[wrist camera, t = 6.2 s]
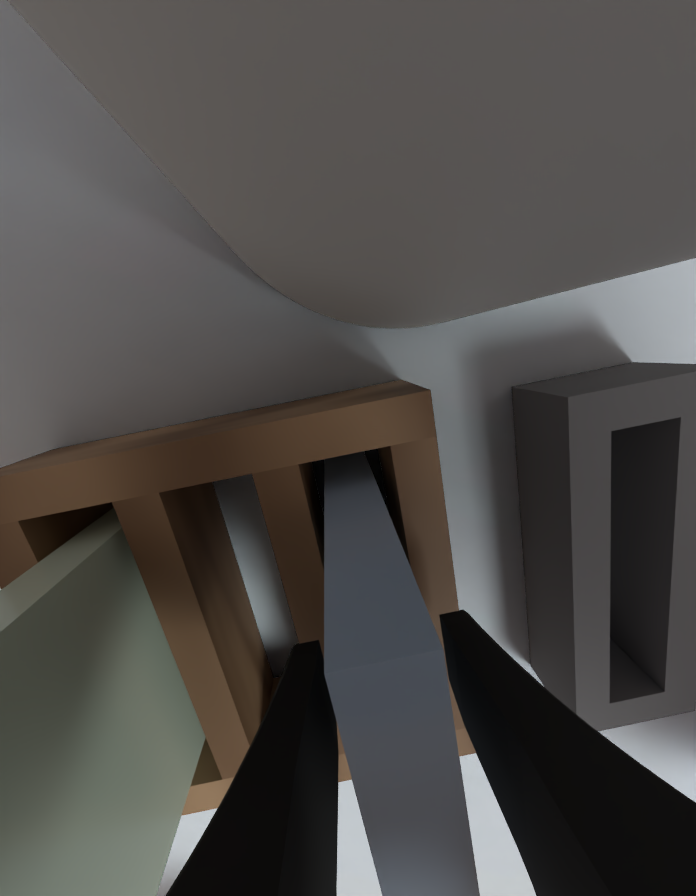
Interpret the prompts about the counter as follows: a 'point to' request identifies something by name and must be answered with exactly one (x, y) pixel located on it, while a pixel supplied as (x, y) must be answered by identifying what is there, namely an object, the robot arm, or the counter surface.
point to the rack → (208, 543)
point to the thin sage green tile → (89, 725)
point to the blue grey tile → (391, 695)
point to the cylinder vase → (408, 138)
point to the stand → (611, 538)
